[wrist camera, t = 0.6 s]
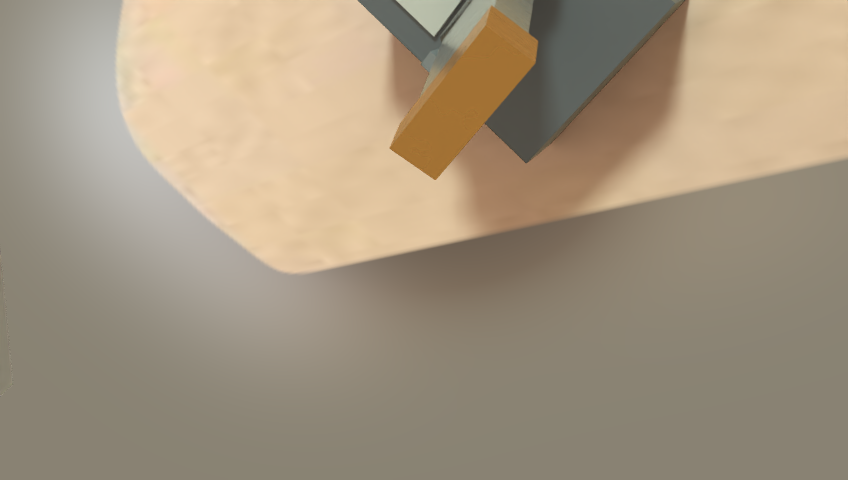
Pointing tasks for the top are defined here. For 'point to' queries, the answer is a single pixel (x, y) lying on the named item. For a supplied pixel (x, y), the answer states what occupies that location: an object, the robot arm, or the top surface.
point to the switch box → (541, 56)
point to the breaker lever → (467, 81)
